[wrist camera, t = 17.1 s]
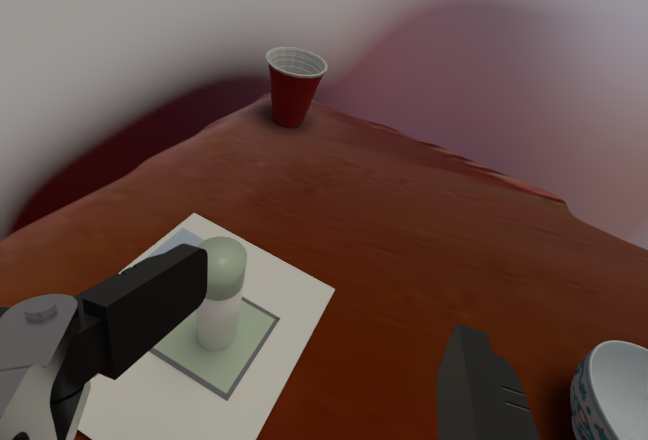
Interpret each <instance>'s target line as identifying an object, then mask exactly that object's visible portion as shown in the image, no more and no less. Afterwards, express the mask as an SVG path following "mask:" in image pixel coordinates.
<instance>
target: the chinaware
mask: <svg viewBox="0 0 648 440" xmlns="http://www.w3.org/2000/svg"><path fill="white" fill-rule="evenodd" d="M570 405H571V411H572V427H573V431H574V434H575V436H576V439H577V440H648V350H647V349H645V348H643V347H641V346H638V345H635V344H632V343H629V342H624V341H606V342H603V343H601V344H599V345H597V346H596V347H595V348H594V349H592V350H591V351H590V352H589V353H588V354H587V355H586V356H585V358H584V359H583V360H582V361H581V363H580V364H579V366H578V367H577V369H576V371H575V374H574V376H573V379H572V383H571V389H570Z"/></svg>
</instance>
